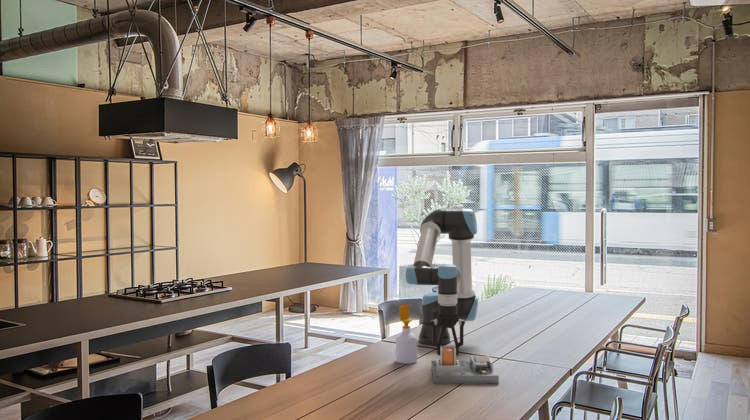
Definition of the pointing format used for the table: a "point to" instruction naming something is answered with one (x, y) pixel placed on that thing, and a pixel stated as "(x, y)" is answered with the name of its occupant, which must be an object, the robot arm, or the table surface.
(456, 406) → the table surface
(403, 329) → the soap bottle
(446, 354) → the cap
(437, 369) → the breaker panel
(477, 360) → the block
